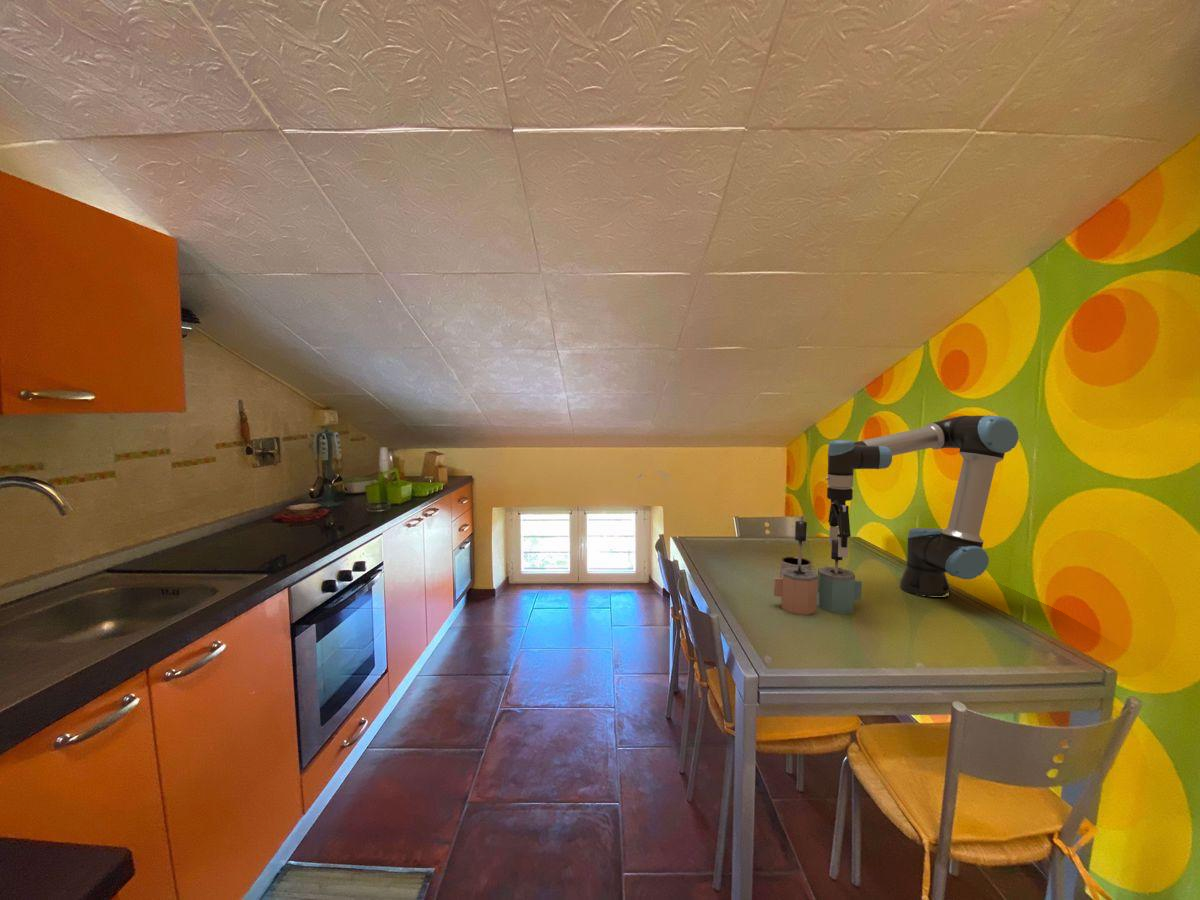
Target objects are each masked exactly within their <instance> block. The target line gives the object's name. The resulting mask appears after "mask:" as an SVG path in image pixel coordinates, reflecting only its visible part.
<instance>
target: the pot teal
mask: <svg viewBox="0 0 1200 900" xmlns="http://www.w3.org/2000/svg"><path fill="white" fill-rule="evenodd" d="M862 585H863V584H862V581H861V580H858V579H856V575H855V573H854V572H853V571H852V570H849V569H846V568H843V567H838V574H835V566H823V567H819V568H817V601H816V605H817V606H818V608H819V609H821V610H824V611H826V612H828V613H833V614H841V615H842V614H843V615H847V614H850V613H853V612H854V609H855V608H854V607H855V606H854V605H855V600H858V601H862Z"/></svg>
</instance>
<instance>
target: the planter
mask: <svg viewBox="0 0 1200 900" xmlns="http://www.w3.org/2000/svg"><path fill="white" fill-rule="evenodd" d="M812 563H813V562H812V561H811V560H809V559H807V558H805V557H804V558H803V557H802V558H801V568H805V569H808V570H811V571H813V570H812V567H813V564H812ZM789 567H794V568H798V556H785V557H782V558H781V559H780V574H779V578H782V569H785V568H789Z"/></svg>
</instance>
